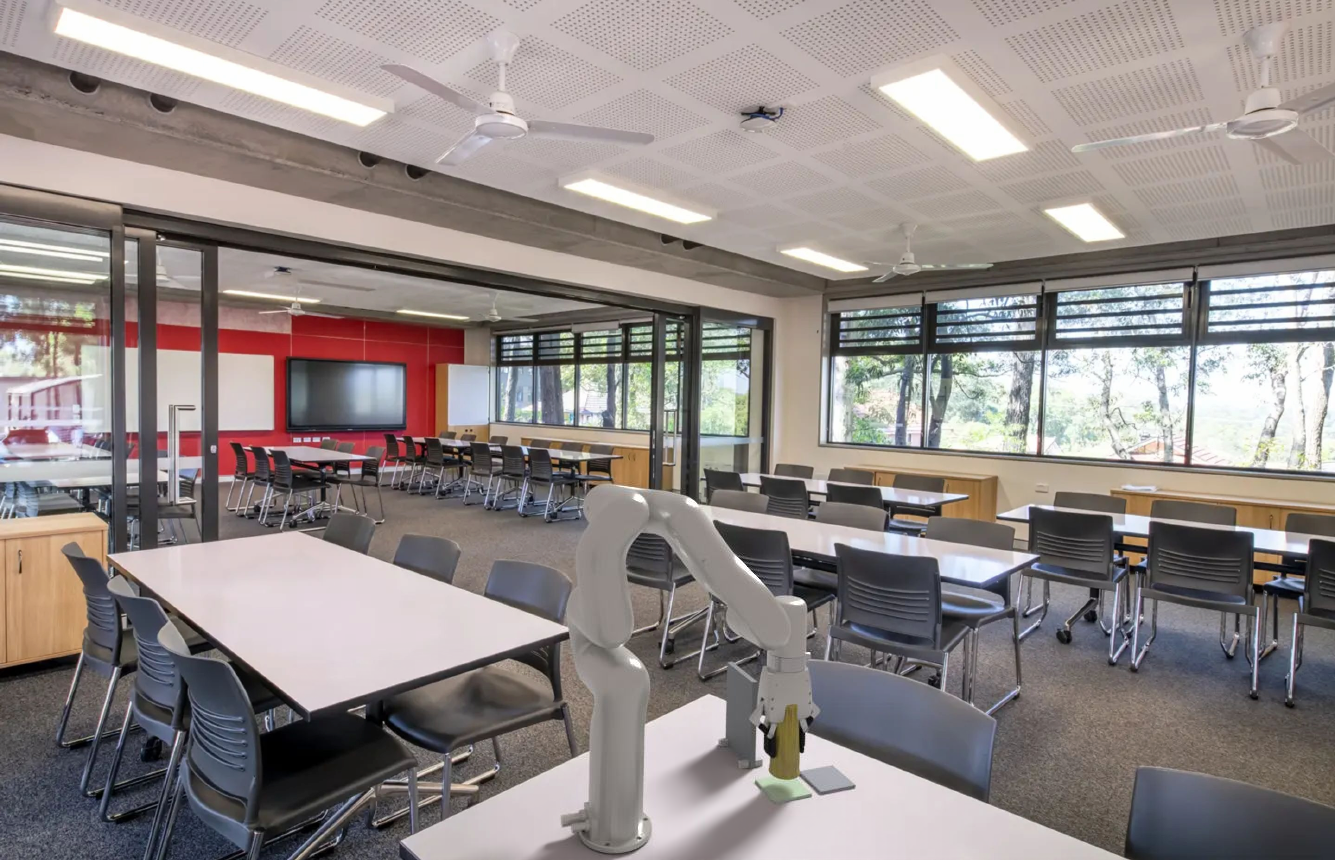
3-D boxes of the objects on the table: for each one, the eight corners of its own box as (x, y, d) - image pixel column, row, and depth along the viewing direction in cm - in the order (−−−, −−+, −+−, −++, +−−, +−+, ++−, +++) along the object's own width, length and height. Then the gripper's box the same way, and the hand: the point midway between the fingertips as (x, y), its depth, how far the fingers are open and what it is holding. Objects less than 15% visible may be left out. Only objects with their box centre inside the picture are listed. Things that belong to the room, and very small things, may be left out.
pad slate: (820, 794, 134) (820, 791, 134) (799, 773, 141) (799, 771, 141) (855, 787, 136) (855, 784, 136) (832, 767, 144) (832, 765, 144)
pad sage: (775, 803, 130) (775, 800, 130) (755, 781, 138) (755, 779, 138) (811, 795, 133) (811, 793, 133) (790, 775, 141) (790, 772, 140)
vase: (770, 779, 132) (772, 706, 132) (766, 763, 138) (768, 693, 138) (802, 780, 132) (804, 707, 132) (797, 764, 138) (798, 693, 138)
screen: (741, 769, 142) (744, 683, 142) (717, 743, 153) (719, 662, 153) (763, 765, 144) (765, 680, 144) (737, 739, 155) (739, 660, 155)
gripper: (813, 650, 141) (811, 737, 142) (738, 659, 135) (736, 750, 136) (835, 662, 134) (832, 754, 135) (756, 673, 128) (754, 769, 129)
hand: (784, 751), depth 135 cm, fingers closed on vase, 5 cm apart
